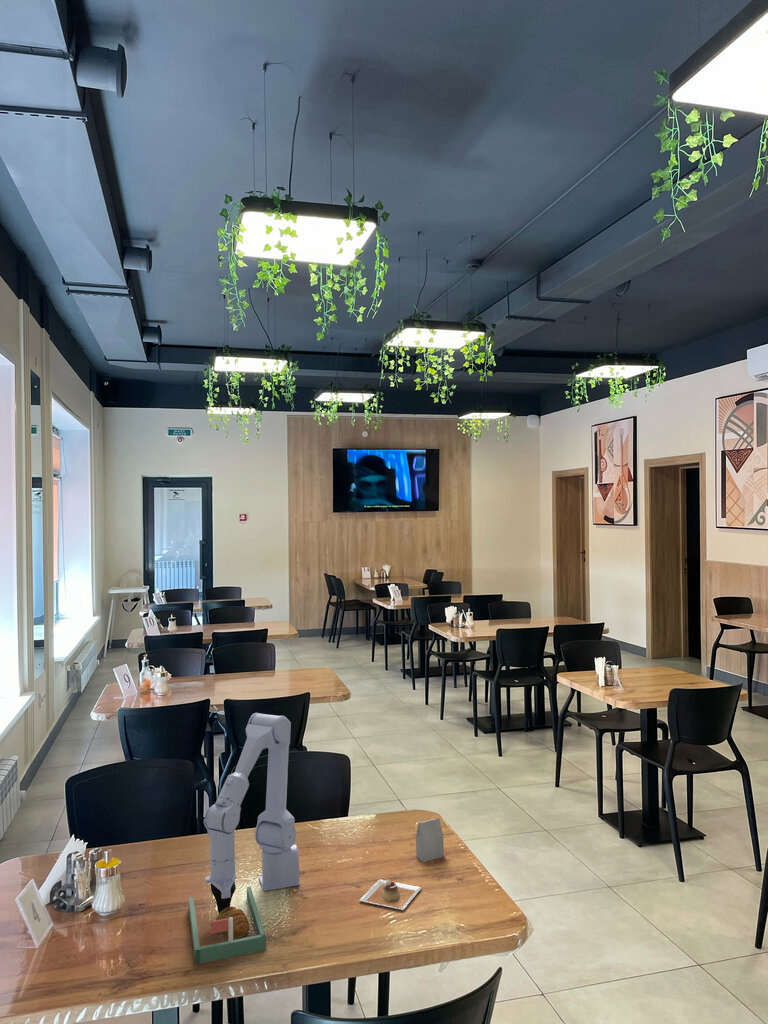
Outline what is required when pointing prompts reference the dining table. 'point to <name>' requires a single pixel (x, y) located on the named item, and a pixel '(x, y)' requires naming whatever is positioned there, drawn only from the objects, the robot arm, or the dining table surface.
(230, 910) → the pastry
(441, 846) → the grey tall block
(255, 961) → the dining table surface
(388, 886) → the dessert
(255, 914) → the putting corral
